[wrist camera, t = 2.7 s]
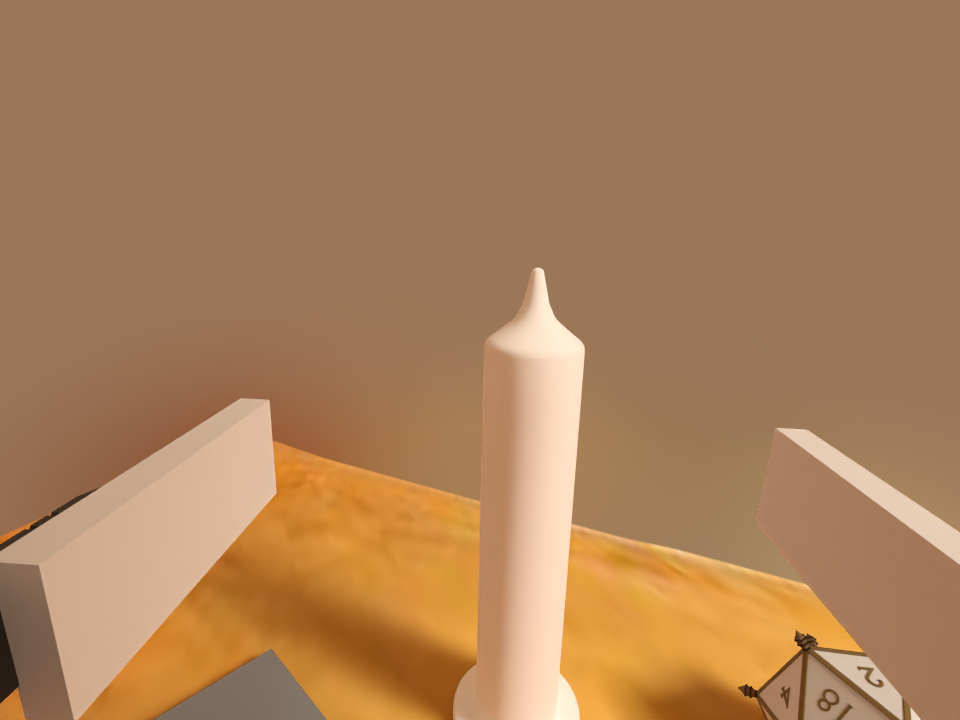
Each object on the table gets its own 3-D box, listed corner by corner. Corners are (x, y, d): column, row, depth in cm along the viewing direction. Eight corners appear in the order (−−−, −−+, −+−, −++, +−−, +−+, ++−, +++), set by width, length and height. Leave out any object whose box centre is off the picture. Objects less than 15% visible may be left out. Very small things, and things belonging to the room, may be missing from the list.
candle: (426, 721, 27) (422, 266, 21) (503, 642, 33) (519, 260, 26) (532, 816, 23) (567, 280, 16) (601, 709, 28) (649, 269, 22)
